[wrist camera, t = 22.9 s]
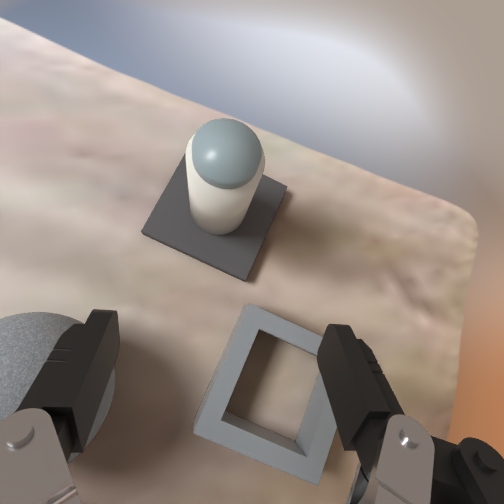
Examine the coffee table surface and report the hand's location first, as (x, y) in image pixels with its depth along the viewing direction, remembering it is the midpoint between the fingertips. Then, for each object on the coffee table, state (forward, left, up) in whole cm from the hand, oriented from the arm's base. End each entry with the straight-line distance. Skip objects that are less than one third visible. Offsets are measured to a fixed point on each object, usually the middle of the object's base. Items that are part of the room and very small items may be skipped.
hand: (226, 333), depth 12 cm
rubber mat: (-4, +9, -16) cm, 19 cm away
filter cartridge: (-4, +9, -15) cm, 18 cm away
